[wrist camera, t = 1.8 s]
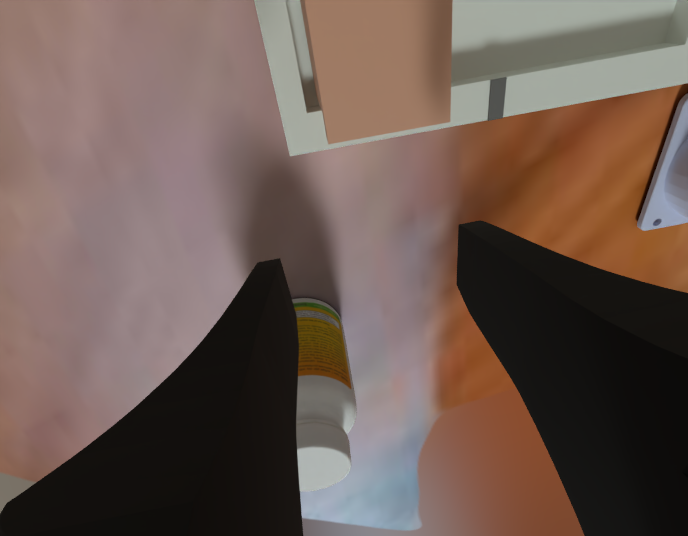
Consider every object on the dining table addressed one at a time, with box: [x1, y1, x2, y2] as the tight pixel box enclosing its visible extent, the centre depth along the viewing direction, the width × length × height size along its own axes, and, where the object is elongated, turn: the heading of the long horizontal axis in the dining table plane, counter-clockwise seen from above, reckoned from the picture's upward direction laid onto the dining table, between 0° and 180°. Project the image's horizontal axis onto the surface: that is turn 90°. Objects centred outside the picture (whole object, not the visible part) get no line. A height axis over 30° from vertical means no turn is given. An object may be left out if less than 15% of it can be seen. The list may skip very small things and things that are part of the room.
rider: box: [300, 0, 453, 144], centre depth 12 cm, size 4×5×4 cm
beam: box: [254, 0, 688, 156], centre depth 15 cm, size 17×8×4 cm, turn 98°
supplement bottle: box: [292, 298, 356, 492], centre depth 21 cm, size 5×5×10 cm
